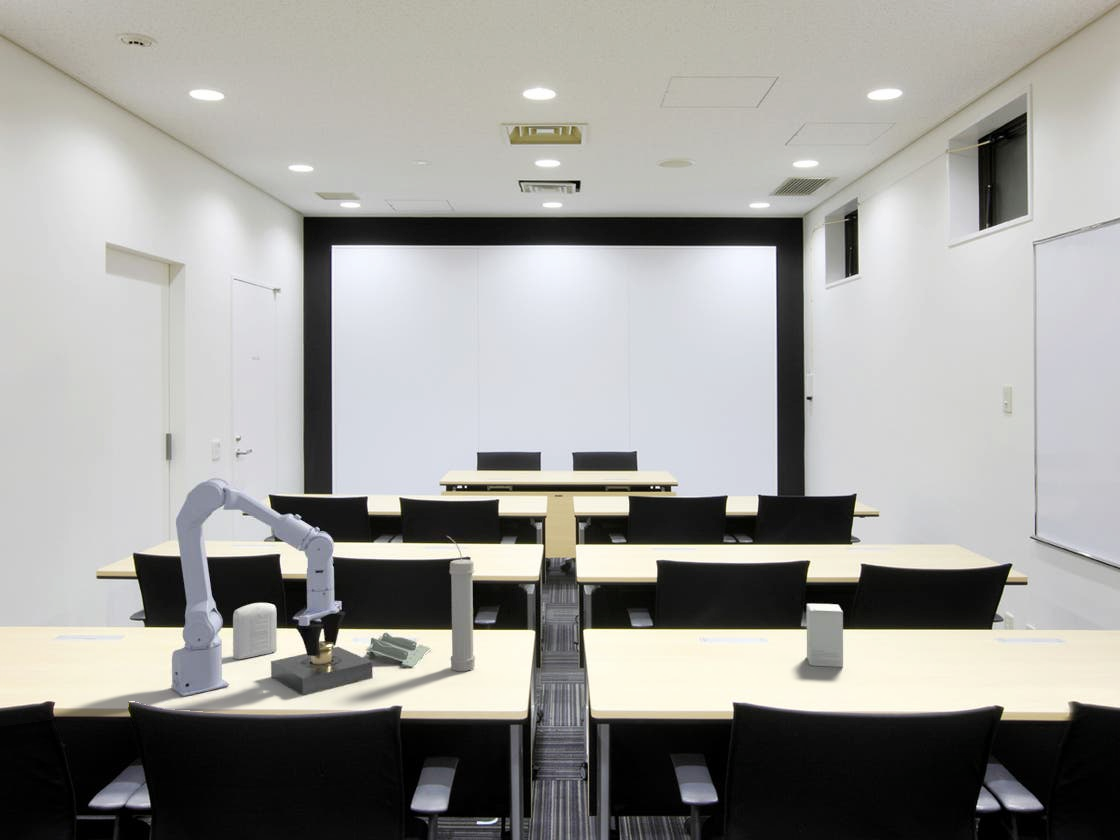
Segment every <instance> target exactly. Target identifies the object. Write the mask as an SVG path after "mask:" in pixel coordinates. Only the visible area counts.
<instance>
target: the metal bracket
mask: <svg viewBox="0 0 1120 840" xmlns="http://www.w3.org/2000/svg"><path fill="white" fill-rule="evenodd" d="M417 644H418V643H417V642H416V641H415V640H413V639H412V640H411V639H408V638H405V637H402V636H392V635H391V634H389V633H388V632H384V633H383V634H382V635H380V636H379V637H378V638H374V637H371V639H370V645H369V646H368V647H367V648H365V650H366V654H365V655H367V656H368V658H367V660H368V659H369V658H370V657H371V658H372V657H373V656H374V655H375V654H377V655H379V656H383V657H386V658H390V659H393V660H396V661H400V662H402V663H401V666H403V667H406V668H410V667H414V666H415V665H416V664H417V662H418V661H419V660H420V659H421V658H422V657H423V656H424V654H425V653H426V652H427V651H428V650H429V649H431V648H430V647H429V646H426V645H422V644H418V645H417ZM426 654H427V653H426ZM426 654H425V655H426ZM424 657H425V656H424ZM424 657H423V658H424ZM371 658H370V659H371ZM423 658H422V659H423ZM370 659H369V660H370ZM422 659H421V660H422ZM421 660H420V661H421ZM420 661H419V662H420Z"/></svg>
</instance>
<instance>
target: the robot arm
mask: <svg viewBox="0 0 1120 840" xmlns="http://www.w3.org/2000/svg"><path fill="white" fill-rule="evenodd" d="M186 495H187V496H186V499H185V501H184V502H183V505H182V507H181V509H180V511H179V512H178V515H177V516H176V519H175V524H176V525H175V527H176V532H177V533H176V534H177V540H178V542H177V543H178V547H179V555H180V562H181V570H182V577H183V578H182V579H183V583H184V591H185V600H186V606H185V614H184V618H185V624H184V627H183V630H182V639H183V641H184V647H182V648H179V649H175V650H173V652H172V655H171V674H172V675H171V681H172V682H171V683H172V684H171V686H170V687H171V688H172V689H173V690H174V691H176V692H177V693H178V694H179V695H180V696H182V697H186V696H191V695H196V694H199V693H204V692H207V691H212V690H218V689H222V688H225V687H229V686H230V683H229V682H227V681H226V680H224V679H223V660H222V659H223V656H222V655H223V653H222V652H223V650H222V639H221V637H220V636H219V634H218V633H219V632H220V631H221V630H222V627H223V621H224V620H223V617H222V615H221V613H220V612H219V611H218V609H217V604H216V601H215V600H214V598H213V594H212V589H211V588H212V586H211V581H210V580H211V579H210V573H209V565H208V557H207V551H206V543H205V535H204V529H203V524H204V523H205V522H206V521H207V520H208V518H210V517H211V515H212V514H213V513H214V512H215V511H217V510H218V509H220V508H221V507H223V508H222V509H223V510H225V511H229V510H230V511H231V510H233V511H234V510H235V511H236V510H239V511H241V512H243V513H245V514H247V515H249V516H251V517H253V519H256V520H258V521H260V522H261V523H263V524H265V525H267V526H269V527H271V529H272V530H273V535H274V537H276V538H277V539H279V540H280V541H282V542H284V543H286V544H287V545H289V546H291V547H292V548H294V549H296V550H297V551H299V552H304V555H305V557H306V558H307V568H306V604H307V605H306V606H307V608H306V609H305V610H304V612H302V614H301V615H299V616H298V622H297V623H296V624H295V629H296V630H297V631H298V633H299V634H300V636H301V639H302V641H303V642H302V643H303V645H304V648H305V652H306V654H307V655H308V656H317V655H318V650H319V641H320V637H321V633H322V630H323V639H324V641H331V642H333V643H334V647H336V644H337V640H338V635H339V633H340V628H341V625H342V622H343V620H344V618H345V617H346V612H345V611H341V610H342V605H343V604H342V601H341V600H335V569H334V566H333V564H334V558H333V553H334V548H335V542H334V540H333V538H332V537H331V535H330V534H329V533H328V532H326V531H323V530H321V531H320V528H319V527H318V526H316V527H313V526H311V525H310V524H308V523H306V522H305V521H303V520H301V519H302V516H300V515H299V514H297V513H296V514H295V515H294V514H292V513H286V514H280V513H279V512H278V511H276V510H274V509H273V508H271V507H270V506H268V505H267V504H265V503H264V502H262V501H260V500H259V499H257V497H255V496H253V495H251V494H250V493H249V492H247V491H246V490H244V489H242V488H240V487H238V486H236V485H235V484H232V483H229V482H227V481H226V480H224V479H222V478H218V477H216V478H215V477H214V478H210V479H208V480H206V481H203V482H201V483H199V484H197V485H196V486H195V487H194V488H192V489H191V490H190V491H189V492H188V493H187V494H186ZM317 620H320V622H321V623H317V622H316V621H317Z"/></svg>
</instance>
